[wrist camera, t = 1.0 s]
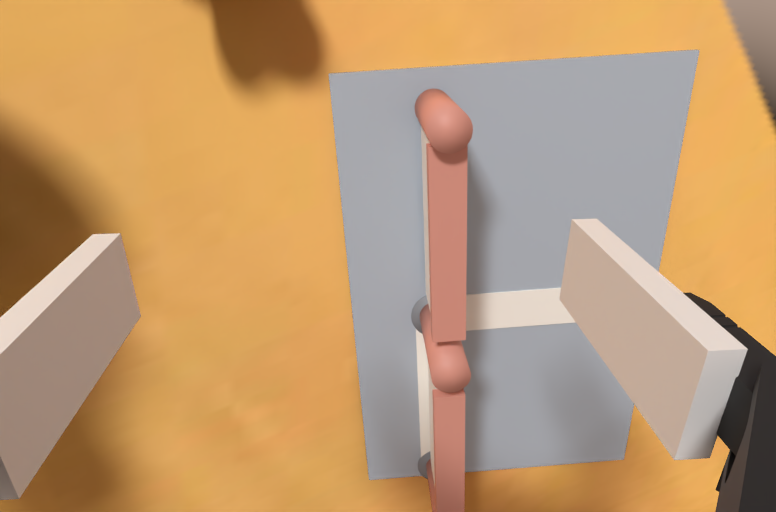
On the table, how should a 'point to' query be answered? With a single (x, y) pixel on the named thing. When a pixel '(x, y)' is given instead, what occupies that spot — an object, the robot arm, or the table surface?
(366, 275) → the card
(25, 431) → the robot arm
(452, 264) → the fence panel
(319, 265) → the table surface
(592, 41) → the table surface
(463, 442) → the fence fixed
